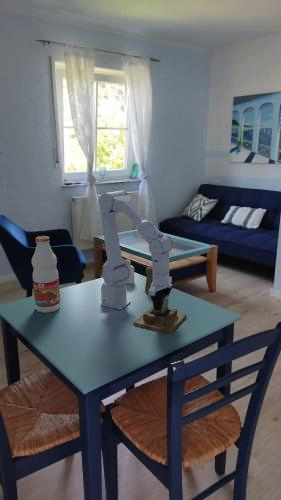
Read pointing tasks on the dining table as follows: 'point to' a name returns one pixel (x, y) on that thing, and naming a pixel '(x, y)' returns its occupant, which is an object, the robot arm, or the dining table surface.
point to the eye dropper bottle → (131, 278)
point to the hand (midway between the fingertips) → (160, 307)
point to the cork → (148, 279)
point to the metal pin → (164, 307)
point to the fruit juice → (45, 277)
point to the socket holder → (160, 320)
